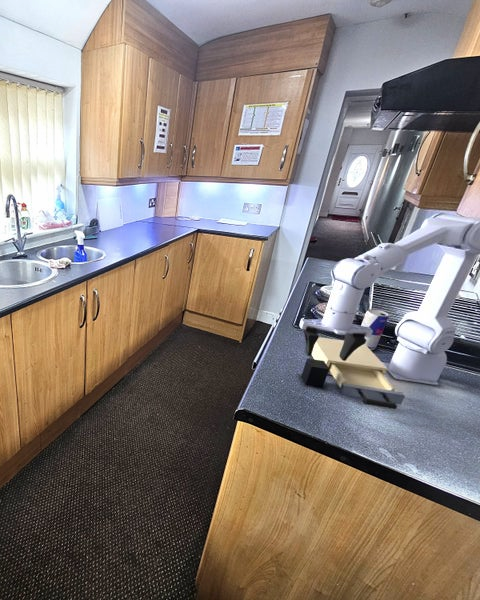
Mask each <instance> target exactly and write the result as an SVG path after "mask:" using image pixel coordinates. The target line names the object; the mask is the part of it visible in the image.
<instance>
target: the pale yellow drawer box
mask: <svg viewBox="0 0 480 600" xmlns="http://www.w3.org/2000/svg"><path fill="white" fill-rule="evenodd" d="M343 344H344V339H337V338H336V339H335V338H329V337H328V338H327V337H321V336H319V338H318V339H317V341H316V343H315V345H314V348H313V351H312V354H311V356H312V359H315V360H322V361H325V363H326V365H327V366H328V367H329V365H330V363H336V364H342V365H349V366H356V367H363V368H370V369H376V370H379V371H380V372H381V373H382V374H383V375H384V376H385V375H386V373H387V372H388V370H387V368H386V366H385V365H384V364H383V363H382V362H383V361H381V360H380V359H379V357H378V356H377V355H376V354H375V353H374V352H373V350H370V349H369V348H368V347H367V346H366V345H365V344H363V345H362V346H360V347H358V348H357V349H356V350H355V351H354V352H353V353H352V354H351V355H350V356H349V357H348V358H347V359H346V361H342V359H341V358H340V352H341V349H342V347H343ZM328 375H330V376H333V375H332V374H331V372H330V371H329V372H328Z"/></svg>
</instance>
